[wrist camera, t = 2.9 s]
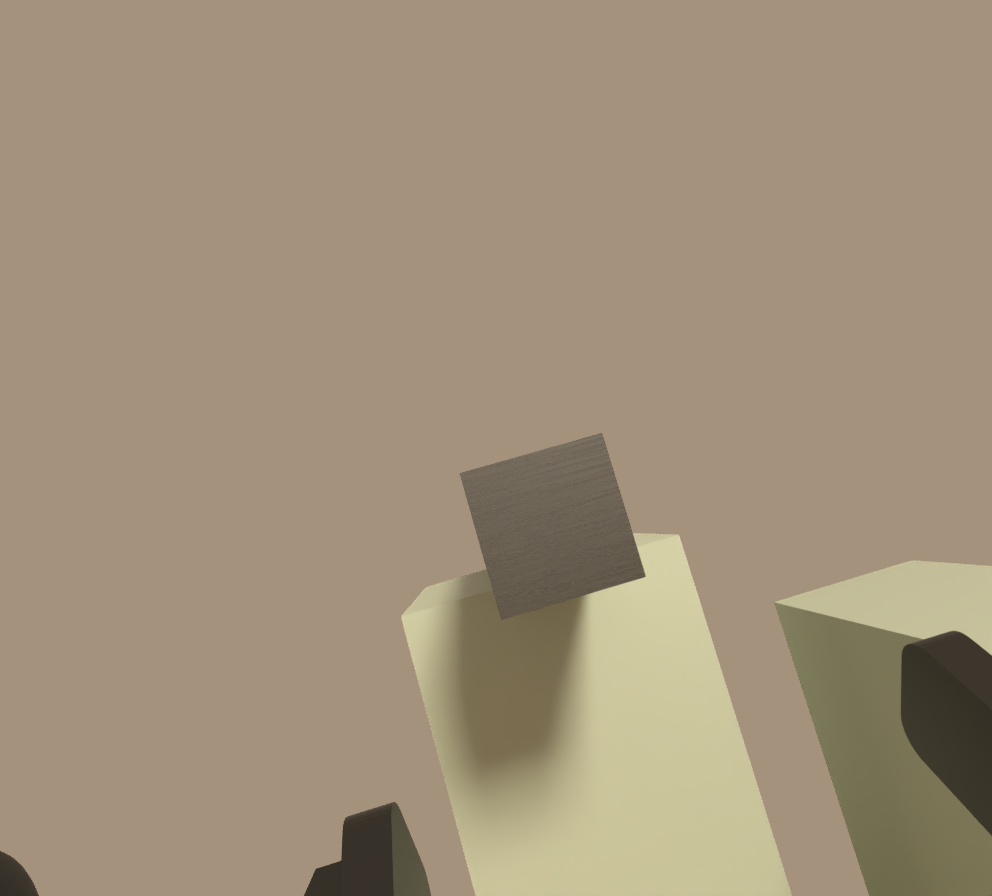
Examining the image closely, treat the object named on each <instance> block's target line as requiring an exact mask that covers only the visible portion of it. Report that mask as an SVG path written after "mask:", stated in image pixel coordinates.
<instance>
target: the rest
mask: <svg viewBox="0 0 992 896" xmlns="http://www.w3.org/2000/svg"><path fill="white" fill-rule="evenodd" d="M774 603H775V606H776V609H777V612H778V615H779V619H780V622H781V625H782V628H783V631H784V634H785V637H786V640H787V643H788V647H789V650H790V653H791V656H792V659H793V662H794V665H795V668H796V671H797V674H798V677H799V680H800V683H801V687H802V689H803V693H804V696H805V699H806V702H807V705H808V708H809V711H810V714H811V717H812V721H813V723H814V726H815V730H816V733H817V735H818V739H819V742H820V745H821V748H822V751H823V754H824V758H825V760H826V763H827V767H828V770H829V773H830V776H831V779H832V782H833V785H834V788H835V792H836V794H837V797H838V800H839V804H840V807H841V810H842V813H843V816H844V819H845V822H846V825H847V828H848V832H849V835H850V838H851V841H852V844H853V847H854V850H855V853H856V856H857V859H858V862H859V866H860V869H861V872H862V875H863V878H864V881H865V884H866V887H867V890H868V893H869V896H992V836H991V835H990V834H989V832H988V831H987V830H986V829H985V828H984V827H983V826H982V825H981V824H980V823H979V822H978V820H977V819H976V818H975V817H974V816H973V815H972V814H971V813H970V812H969V811H968V810H967V808H966V807H965V806H964V805H963V804H962V803H961V802H960V801H959V800H958V799H957V798H956V796H955V795H954V794H953V793H952V792H951V791H950V790H949V789H948V788H947V787H946V786H945V784H944V783H943V782H942V781H941V780H940V779H939V778H938V777H937V776H936V775H935V774H934V772H933V771H932V770H931V769H930V768H929V767H928V766H927V765H926V764H925V763H924V762H923V760H922V759H921V758H920V757H919V756H918V754H917V753H916V752H915V750H914V749H913V747H912V745H911V744H910V742H909V740H908V738H907V736H906V734H905V731H904V728H903V725H902V721H901V659H902V650H903V648H904V647H905V646H906V645H907V644H910V643H914V642H917V641H920V640H923V639H926V638H930V637H933V636H936V635H939V634H943V633H946V632H949V631H958V632H961V633H963V634H965V635H967V636H968V637H969V638H971V639H972V640H973V641H974V642H976V643H977V644H978V645H979V646H981V647H982V648H983V649H984V650H986V651H987V652H988V653H989V654H991V655H992V566H980V565H967V564H955V563H940V562H927V561H913V560H912V561H909V562H905V563H902V564H899V565H895V566H892V567H889V568H885V569H882V570H879V571H876V572H872V573H869V574H865V575H862V576H859V577H856V578H852V579H849V580H846V581H842V582H839V583H836V584H833V585H829V586H826V587H823V588H819V589H816V590H813V591H809V592H806V593H803V594H800V595H797V596H793V597H790V598H787V599H783V600H780V601H777V602H774Z"/></svg>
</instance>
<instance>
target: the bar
mask: <svg viewBox="0 0 992 896" xmlns="http://www.w3.org/2000/svg"><path fill="white" fill-rule="evenodd" d="M460 476H461V480H462V483H463V487H464V490H465V494H466V497H467V501H468V505H469V508H470V511H471V515H472V519H473V522H474V526H475V529H476V533H477V536H478V540H479V543H480V547H481V551H482V554H483V558H484V561H485V565H486V568H487V572H488V575H489V579H490V582H491V586H492V590H493V593H494V597H495V600H496V604H497V607H498V611H499V614H500V618H501V620H503V619H506V618H510V617H513V616H516V615H520V614H523V613H527V612H530V611H533V610H537V609H540V608H543V607H547V606H550V605H553V604H557V603H560V602H563V601H567V600H570V599H574V598H577V597H580V596H584V595H587V594H590V593H594V592H597V591H600V590H604V589H607V588H610V587H614V586H617V585H620V584H624V583H627V582H631V581H634V580H637V579H641V578H644V577H646V575H645V572H644V569H643V565H642V562H641V559H640V556H639V552H638V549H637V546H636V542H635V539H634V536H633V533H632V530H631V526H630V523H629V520H628V516H627V513H626V510H625V507H624V503H623V500H622V497H621V494H620V490H619V487H618V484H617V480H616V477H615V474H614V471H613V467H612V464H611V461H610V458H609V454H608V451H607V448H606V445H605V441H604V438H603V435H602V433H600V434H597V435H593V436H590V437H586V438H583V439H579V440H576V441H572V442H569V443H565V444H562V445H558V446H555V447H551V448H547V449H544V450H540V451H537V452H533V453H530V454H526V455H523V456H519V457H516V458H512V459H509V460H505V461H502V462H498V463H495V464H492V465H488V466H484V467H481V468H477V469H473V470H470V471H466V472H463V473H460Z"/></svg>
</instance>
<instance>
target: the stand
mask: <svg viewBox="0 0 992 896" xmlns="http://www.w3.org/2000/svg"><path fill="white" fill-rule="evenodd" d="M633 536H634V539H635V542H636V546H637V549H638V552H639V556H640V559H641V562H642V565H643V569H644V572H645V575H646V577H644V578H641V579H637V580H634V581H631V582H627V583H624V584H620V585H617V586H614V587H610V588H607V589H604V590H600V591H597V592H594V593H590V594H587V595H584V596H580V597H577V598H574V599H570V600H567V601H563V602H560V603H557V604H553V605H550V606H547V607H543V608H540V609H537V610H533V611H530V612H527V613H523V614H520V615H516V616H513V617H510V618H506V619H503V620H501V618H500V614H499V611H498V607H497V604H496V600H495V597H494V593H493V590H492V586H491V582H490V579H489V575H488V572H487V569H486V570H483V571H479V572H476V573H473V574H470V575H466V576H462V577H459V578H456V579H452V580H449V581H446V582H442V583H439V584H435V585H432V586H428V587H426V588H425V589H424V590H423V591H422V592H421V594H420V595H419V596H418V597H417V598H416V600H415V601H414V602H413V603H412V604H411V605H410V607H409V608H408V609H407V610H406V611H405V612H404V614H403V615H402V616H401V619H402V622H403V626H404V630H405V634H406V637H407V641H408V645H409V649H410V653H411V656H412V660H413V664H414V667H415V671H416V675H417V678H418V682H419V686H420V690H421V694H422V697H423V701H424V705H425V708H426V712H427V716H428V720H429V723H430V727H431V731H432V735H433V738H434V742H435V746H436V750H437V753H438V757H439V761H440V765H441V768H442V772H443V775H444V779H445V783H446V786H447V791H448V794H449V798H450V802H451V806H452V809H453V813H454V817H455V821H456V824H457V827H458V832H459V835H460V839H461V843H462V847H463V850H464V854H465V858H466V861H467V865H468V869H469V873H470V876H471V880H472V884H473V887H474V891H475V895H476V896H792V895H791V891H790V888H789V885H788V882H787V879H786V875H785V873H784V869H783V866H782V862H781V860H780V856H779V853H778V850H777V847H776V843H775V841H774V837H773V834H772V831H771V827H770V824H769V821H768V818H767V815H766V811H765V808H764V805H763V802H762V799H761V796H760V793H759V789H758V786H757V783H756V780H755V776H754V773H753V770H752V767H751V763H750V760H749V757H748V754H747V751H746V748H745V744H744V741H743V738H742V735H741V732H740V729H739V725H738V722H737V719H736V716H735V712H734V710H733V706H732V703H731V700H730V696H729V693H728V690H727V687H726V684H725V680H724V677H723V674H722V671H721V668H720V664H719V661H718V658H717V655H716V652H715V648H714V645H713V642H712V639H711V636H710V632H709V629H708V626H707V623H706V620H705V617H704V613H703V610H702V607H701V604H700V601H699V597H698V594H697V591H696V588H695V585H694V582H693V578H692V575H691V572H690V569H689V565H688V562H687V559H686V556H685V553H684V550H683V547H682V543H681V540H680V537H679V535H672V534H641V533H640V534H639V533H633Z"/></svg>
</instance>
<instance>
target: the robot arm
mask: <svg viewBox="0 0 992 896" xmlns="http://www.w3.org/2000/svg"><path fill="white" fill-rule="evenodd" d="M901 721H902V725H903V728H904V731H905V734H906V736H907V738H908V740H909V742H910V744H911V745H912V747H913V749H914V750H915V752H916V753H917V754H918V756H919V757H920V758H921V759H922V760H923V762H924V763H925V764H926V765H927V766H928V767H929V768H930V769H931V770H932V771H933V772H934V774H935V775H936V776H937V777H938V778H939V779H940V780H941V781H942V782H943V783H944V784H945V786H946V787H947V788H948V789H949V790H950V791H951V792H952V793H953V794H954V795H955V796H956V798H957V799H958V800H959V801H960V802H961V803H962V804H963V805H964V806H965V807H966V808H967V810H968V811H969V812H970V813H971V814H972V815H973V816H974V817H975V818H976V819H977V820H978V822H979V823H980V824H981V825H982V826H983V827H984V828H985V829H986V830H987V831H988V832H989V834H990V835H991V836H992V655H991V654H989V653H988V652H987V651H986V650H984V649H983V648H982V647H981V646H979V645H978V644H977V643H976V642H974V641H973V640H972V639H971V638H969V637H968V636H967V635H965V634H963V633H961V632H958V631H949V632H946V633H943V634H939V635H936V636H933V637H930V638H926V639H923V640H920V641H917V642H914V643H910V644H907V645H906V646H905V647H904V648H903V650H902V659H901ZM342 837H343V838H342V860H341V861H340V862H337V863H333V864H330V865H327V866H324V867H321V868H317V869H316V870H315V872H314V874H313V877H312V879H311V881H310V884H309V886H308V888H307V890H306V893H305V895H304V896H431V894H430V888H429V884H428V880H427V876H426V872H425V869H424V866H423V864H422V861H421V859H420V856H419V854H418V852H417V849H416V847H415V845H414V842H413V840H412V837H411V835H410V832H409V830H408V828H407V825H406V823H405V820H404V818H403V816H402V813H401V811H400V809H399V807H398V805H397V804H396V803H395V802H393V803H389V804H386V805H383V806H380V807H377V808H373V809H370V810H367V811H364V812H360V813H357V814H354V815H351V816H348V817H346V818H345V821H344V825H343V836H342ZM0 896H39V895H38V893H37V890H36V888H35V886H34V883H33V882H32V880H31V878H30V877H29V875H28V874H27V872H26V871H25V869H24V868H23V867H22V866H21V865H20V864H19V863H18V862H17V861H16V860H15V859H14V858H12V857H11V856H9V855H7V854H5V853H3V852H1V851H0Z"/></svg>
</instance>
